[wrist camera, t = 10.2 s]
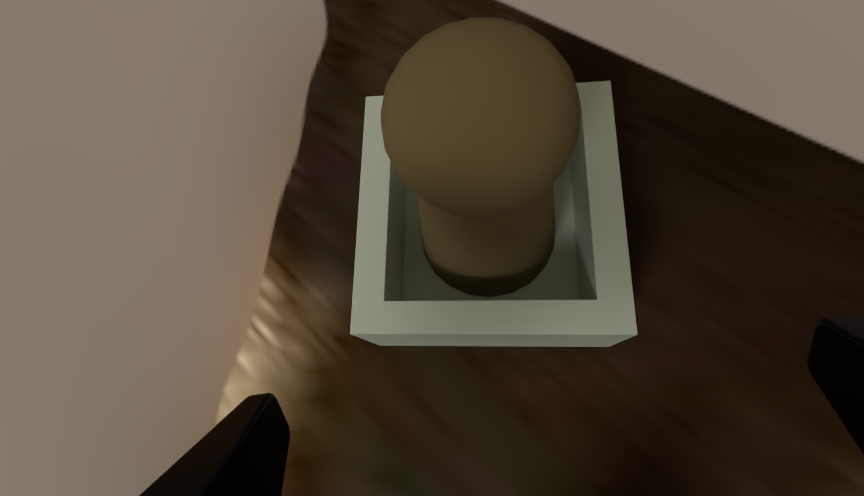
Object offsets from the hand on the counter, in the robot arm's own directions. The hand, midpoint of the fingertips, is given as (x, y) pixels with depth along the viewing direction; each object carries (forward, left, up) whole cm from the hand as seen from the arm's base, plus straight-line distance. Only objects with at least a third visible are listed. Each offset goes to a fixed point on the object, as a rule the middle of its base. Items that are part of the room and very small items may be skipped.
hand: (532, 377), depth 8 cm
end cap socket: (+7, +1, -13) cm, 15 cm away
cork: (+7, +1, -12) cm, 14 cm away
